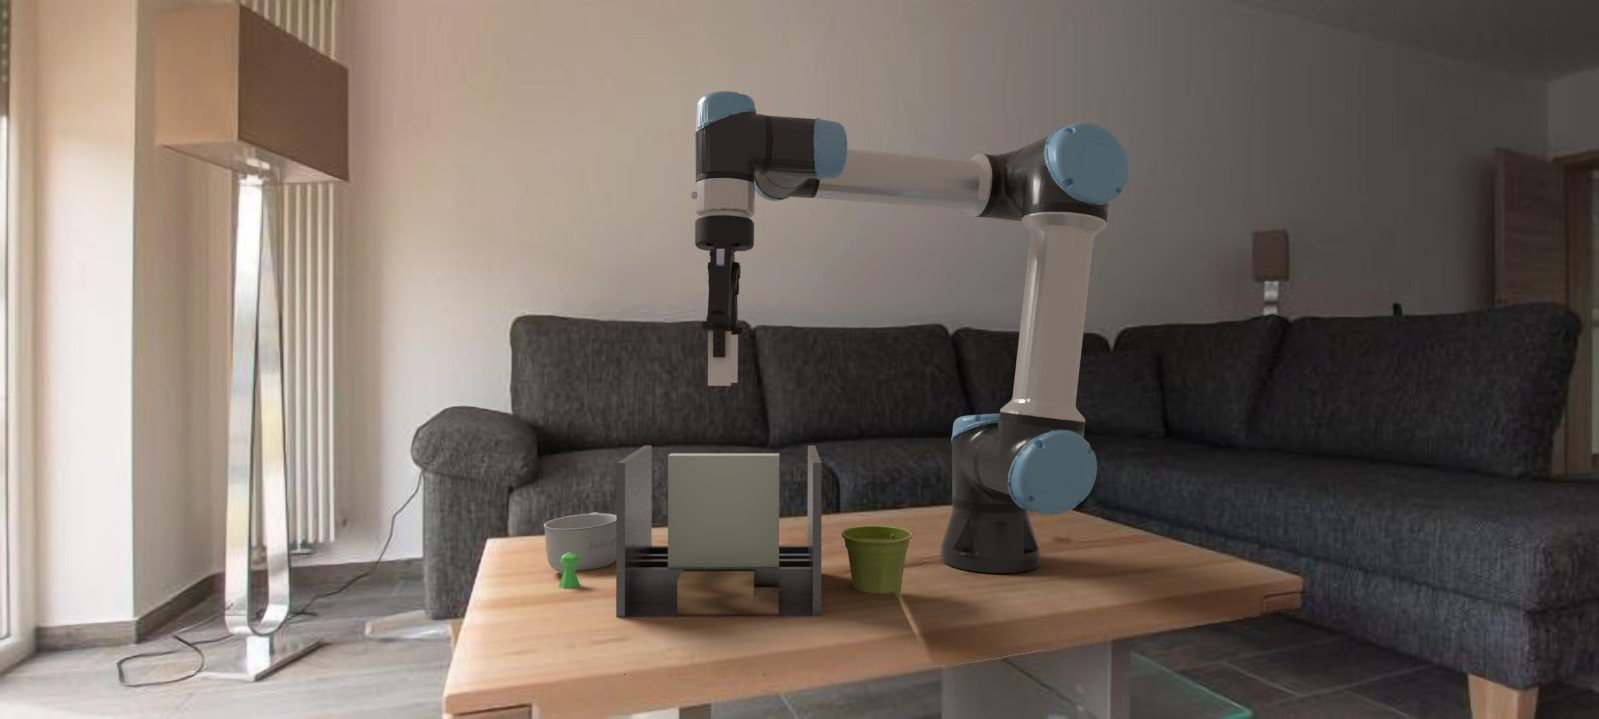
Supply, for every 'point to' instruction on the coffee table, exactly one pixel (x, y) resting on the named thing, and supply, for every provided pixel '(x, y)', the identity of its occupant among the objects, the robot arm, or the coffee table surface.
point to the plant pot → (877, 557)
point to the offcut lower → (732, 603)
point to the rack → (654, 584)
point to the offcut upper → (716, 584)
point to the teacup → (582, 540)
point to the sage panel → (723, 510)
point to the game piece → (569, 572)
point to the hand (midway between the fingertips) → (723, 384)
